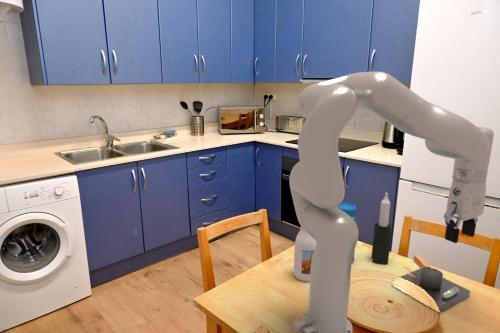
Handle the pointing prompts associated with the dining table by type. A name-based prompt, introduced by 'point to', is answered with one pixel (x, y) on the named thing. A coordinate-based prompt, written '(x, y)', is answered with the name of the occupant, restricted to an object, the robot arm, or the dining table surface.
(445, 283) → the base
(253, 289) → the dining table surface
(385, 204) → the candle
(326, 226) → the robot arm
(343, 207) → the beverage bottle
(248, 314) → the dining table surface
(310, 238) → the milk bottle
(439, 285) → the grey rubber mallet
